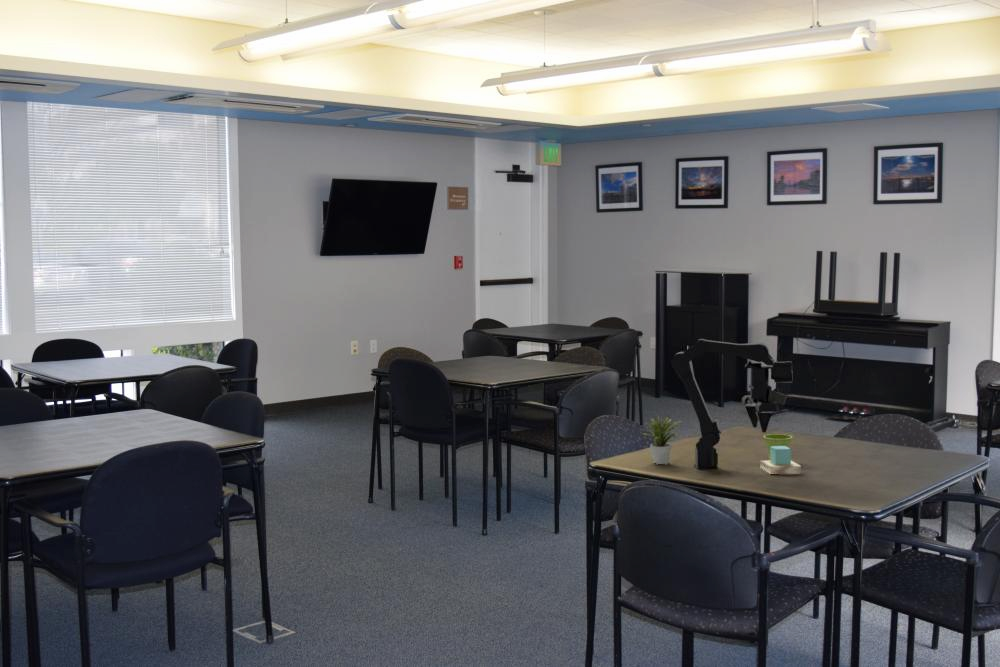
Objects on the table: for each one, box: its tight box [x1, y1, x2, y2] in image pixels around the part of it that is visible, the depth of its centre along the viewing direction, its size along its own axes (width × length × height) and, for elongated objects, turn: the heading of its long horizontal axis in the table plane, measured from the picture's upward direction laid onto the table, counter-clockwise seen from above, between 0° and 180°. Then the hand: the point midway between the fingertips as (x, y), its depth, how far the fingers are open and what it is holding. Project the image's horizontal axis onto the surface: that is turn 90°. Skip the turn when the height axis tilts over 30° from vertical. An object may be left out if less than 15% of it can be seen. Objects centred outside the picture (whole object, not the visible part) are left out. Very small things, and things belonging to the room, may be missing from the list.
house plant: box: [642, 415, 683, 465], centre depth 338 cm, size 14×14×16 cm
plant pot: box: [763, 433, 793, 460], centre depth 338 cm, size 9×9×9 cm
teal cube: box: [770, 446, 792, 465], centre depth 324 cm, size 5×5×5 cm
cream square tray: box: [759, 459, 802, 475], centre depth 324 cm, size 10×10×3 cm
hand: (759, 429), depth 326 cm, fingers open, 9 cm apart
